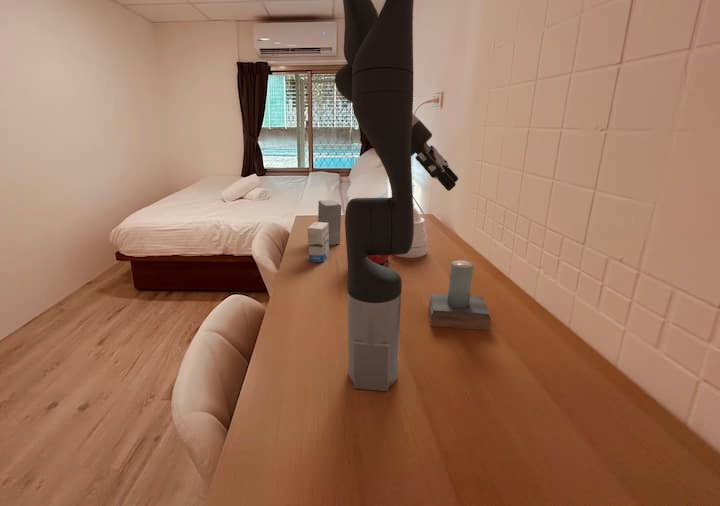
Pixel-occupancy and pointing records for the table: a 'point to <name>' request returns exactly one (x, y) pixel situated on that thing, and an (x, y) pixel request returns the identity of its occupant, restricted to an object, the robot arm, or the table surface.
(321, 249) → the ink box
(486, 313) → the dark grey slab
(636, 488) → the table surface
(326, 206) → the skincare box
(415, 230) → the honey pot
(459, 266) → the ceramic tumbler
